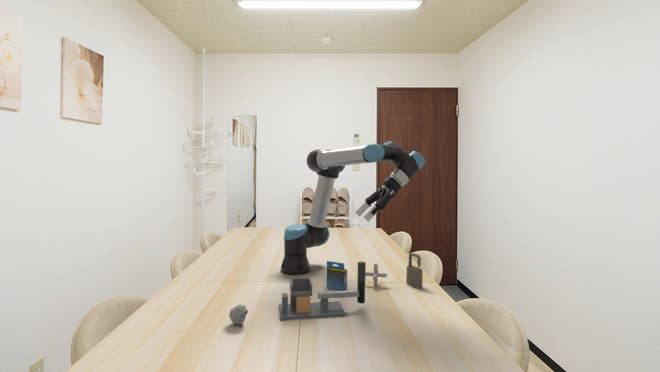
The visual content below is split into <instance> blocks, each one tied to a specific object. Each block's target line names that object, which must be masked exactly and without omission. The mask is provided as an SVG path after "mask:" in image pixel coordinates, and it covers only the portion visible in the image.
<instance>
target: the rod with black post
mask: <svg viewBox="0 0 660 372" xmlns="http://www.w3.org/2000/svg"><path fill="white" fill-rule="evenodd" d="M366 265H367V264H366V261H365V262H364V261H358V262H357V288H356V289H349V290H347V289H346V290H331V291H329V290H328V291H317V300H321V299H328V300H329V299H344V298H356V301H357V304H365V303H366V276H365V272H366Z"/></svg>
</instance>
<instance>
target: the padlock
mask: <svg viewBox="0 0 660 372" xmlns="http://www.w3.org/2000/svg"><path fill="white" fill-rule="evenodd" d="M413 257H414V258H417V266H416V265H412V263H413V262H412V261H413ZM421 261H422V258H421V256H420V255H419V254H418V253H415V252H410V253H409V254H408V265H406V279H405V280H406V282H405V283H406V284H407V285H408V286H411V287H413V288H415V289H421V288H423V274H424V273H423V271H424V270H423V269H422V268H421V265H422V262H421Z"/></svg>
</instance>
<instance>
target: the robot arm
mask: <svg viewBox="0 0 660 372" xmlns="http://www.w3.org/2000/svg"><path fill="white" fill-rule="evenodd" d="M370 163H371V164H372V163H392V164H393V165H395V166H396V167H395V169H394V170H393V171H391V173H390V174H389V175H388V176H387V177H386V178H385V179H384V180H383V184H384V186H380V187H378V189H376V190H375V191H374V192H373V193H372V194H370V195H369V196H368V197H367V198H365V200H364V202H363V204H362V205H360V207H359V208H358V209H356V211H355V212H354V213H355V214H356V215H357V216H358V217H361V216H362V215H363V214H364V213H365V212H366V211H367V210H368V208H370V207H371V206H372V205H373V204H374V205H373V206H372V207H371V208H370V210H368V212H367V213H365V214H364V216H363V219H364V220H366V221H367V223H369V222H370V220H372V218H373V217H374V216H376V215H377V213H378V212H379V211H381V210H385V208H386V206H387V205H388V204H389V202H390V201H391V199H392V197H394V196H395V194H398V193H399V191H401V189H402V187H404V186H405V185H408V182H409V181H410V180H411V179H412V178H413V177H414V176H415V175H416V174H417V173H418V172H419V171H421V169H422V167H423V166H424V165H425V164H426V158H424V156H423V155H422V154H421V153H420V152H419V151H416V150H413V151H411V152H410V153H409V152H408V151H406V149H405V150H404V149H403V148H402V147H400V146H399V145H398V144H397V143H394V142H392V141H390V140H389V141H386V142H384V143H383V144H382V143H381V144H380V143H368V144H367V145H360V146H353V147H347V148H346V147H345V148H339V149H314V150H312V151H310V152H309V153H308V154H307V157H306V165H307V167H308V168H309V169H310V170H311V171H312V172H313V173H314V172H315V173H316V175H317V177H318V180H317V184H316V188H315V193H314V197H313V202H312V206H311V207H312V208H311V211H310V217H309V218H308V219H306V221H305V224H293V225H288V226H287V227H285V229H284V234H283V238H284V239H283V240H284V241H283V244H284V247H283V248H284V250H283V252H284V255H283V259H282V261H281V262H282V263H281V264H280V265H281V266H280V271H281V273H283V274H286V275H295V276H296V275H304V274H307V273H309V272H310V271H311V264H310V261H309V258H308V255H307V252H308V249H309V248H314V247H315V248H316V247H320V246H322V245H324V244H326V243H327V242H328V241H329V239H330V231H329V227H328V223H327V222H326V220H327V217H328V212H329V207H330V202H331V199H332V193H333V189H334V185H335V184H334V183H335V181H336V180H337V179H338V178H339V175H340V173H341V172H343V171H344V169H345V168H346V166H349V165H361V164H370Z"/></svg>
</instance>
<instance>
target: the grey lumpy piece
mask: <svg viewBox="0 0 660 372" xmlns="http://www.w3.org/2000/svg"><path fill="white" fill-rule="evenodd" d="M248 314H249V310H248V308H246V304H237V305H236V306H235V307H232V308H230V310H229V314H228V316H229V319H230V321H231V323H233V324H234V325H236V326H238V325H242V324H243V323H244V322H245V320H246V318H247V317H246V316H247V315H248Z"/></svg>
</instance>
